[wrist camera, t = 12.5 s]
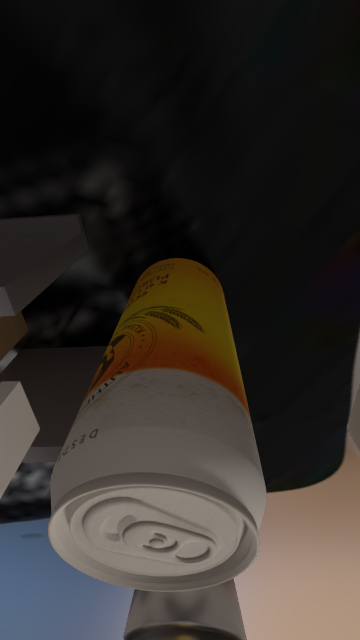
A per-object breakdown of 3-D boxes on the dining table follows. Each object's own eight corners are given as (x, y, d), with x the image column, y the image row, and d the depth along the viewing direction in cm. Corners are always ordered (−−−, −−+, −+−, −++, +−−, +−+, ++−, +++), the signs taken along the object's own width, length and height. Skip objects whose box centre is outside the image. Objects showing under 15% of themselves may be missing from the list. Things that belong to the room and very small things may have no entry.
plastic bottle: (136, 418, 26) (27, 927, 9) (203, 391, 25) (227, 966, 7) (174, 459, 29) (145, 915, 12) (236, 437, 27) (314, 943, 10)
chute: (31, 371, 24) (-47, 474, 16) (-29, 220, 18) (-193, 268, 11) (114, 369, 24) (76, 474, 16) (80, 213, 18) (-7, 258, 10)
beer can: (156, 238, 19) (67, 435, 5) (239, 278, 20) (331, 524, 7) (122, 313, 21) (10, 565, 8) (197, 346, 22) (202, 613, 9)
